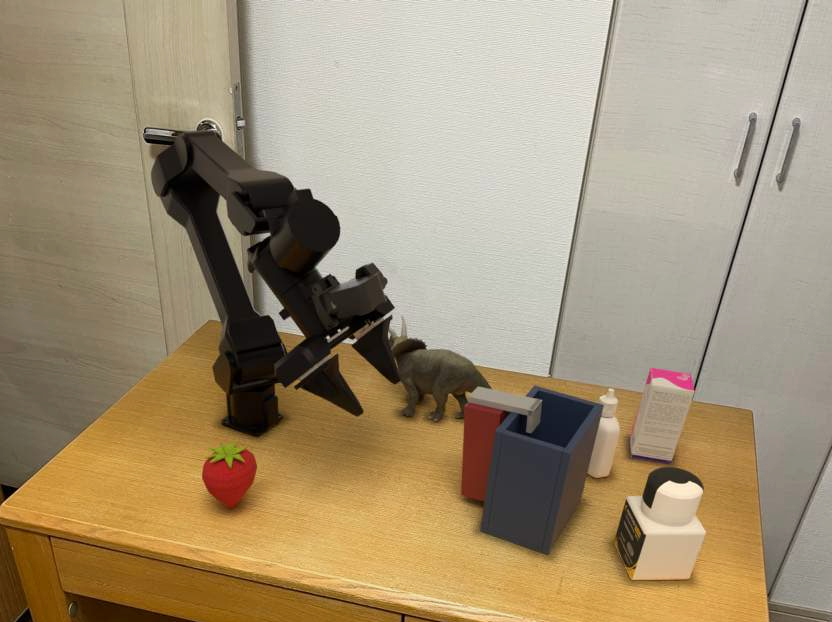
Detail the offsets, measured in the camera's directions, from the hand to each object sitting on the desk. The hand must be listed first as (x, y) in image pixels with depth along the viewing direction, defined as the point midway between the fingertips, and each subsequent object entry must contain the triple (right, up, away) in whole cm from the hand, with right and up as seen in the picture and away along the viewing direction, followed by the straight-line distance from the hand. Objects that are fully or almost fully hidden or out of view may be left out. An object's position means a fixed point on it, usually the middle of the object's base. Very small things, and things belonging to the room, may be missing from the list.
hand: (380, 398), depth 95 cm
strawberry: (-18, -13, +4) cm, 23 cm away
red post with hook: (+15, -11, +7) cm, 20 cm away
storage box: (+19, -14, +6) cm, 24 cm away
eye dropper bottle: (+29, -7, +16) cm, 34 cm away
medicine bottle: (+32, -19, +1) cm, 38 cm away
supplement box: (+38, -4, +20) cm, 44 cm away
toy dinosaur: (+8, +2, +26) cm, 27 cm away
